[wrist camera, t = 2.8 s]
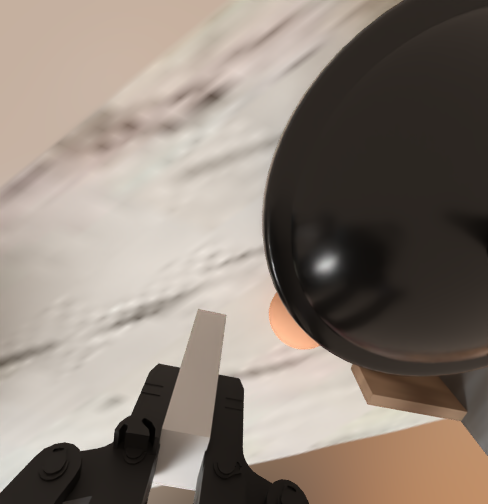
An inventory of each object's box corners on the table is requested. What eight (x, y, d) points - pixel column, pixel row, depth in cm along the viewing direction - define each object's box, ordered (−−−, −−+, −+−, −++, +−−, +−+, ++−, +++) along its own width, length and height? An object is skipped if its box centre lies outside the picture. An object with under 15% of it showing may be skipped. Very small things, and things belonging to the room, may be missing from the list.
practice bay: (350, 368, 24) (383, 437, 18) (427, 209, 19) (502, 238, 14) (445, 386, 25) (503, 458, 19) (542, 238, 20) (659, 276, 14)
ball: (260, 316, 22) (263, 357, 18) (275, 265, 21) (283, 297, 16) (315, 327, 23) (331, 370, 18) (334, 277, 21) (357, 312, 17)
